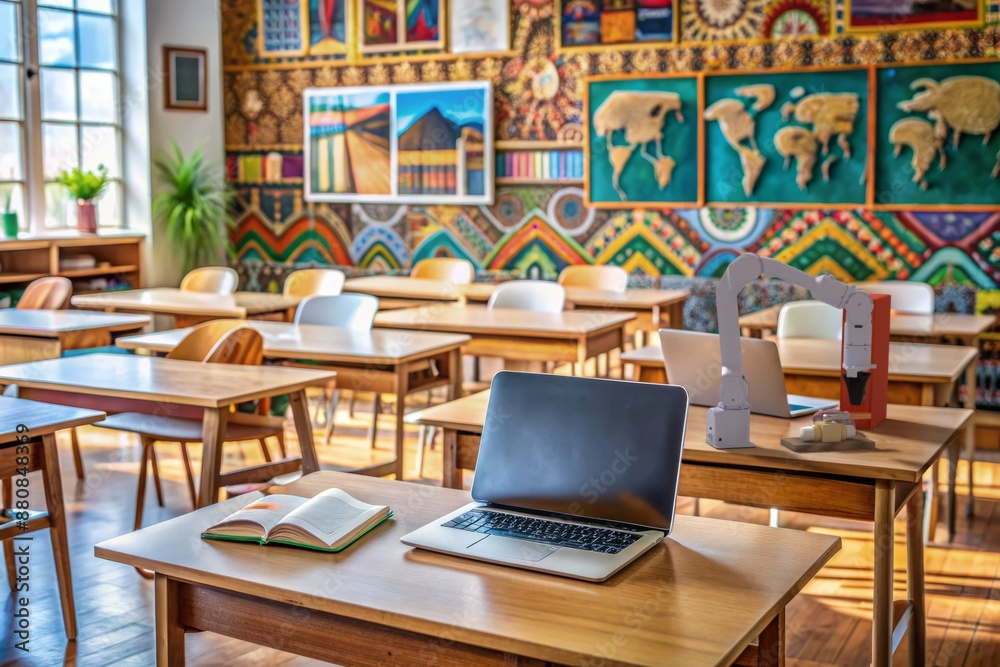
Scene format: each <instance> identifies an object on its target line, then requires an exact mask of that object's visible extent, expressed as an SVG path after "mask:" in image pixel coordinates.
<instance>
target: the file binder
mask: <svg viewBox="0 0 1000 667" xmlns="http://www.w3.org/2000/svg"><path fill="white" fill-rule="evenodd" d="M868 294H869V295H870V296H871V298H872V301H873V304H874V307H873V310H872V312H871V316H872V320H871V324H872V337H871V364H876V368H871V369H867V370H863V372H870V373H871V376H870V378H869V379H868V382H867V384H866V387H865V391H864V395H863V400H862V403H861V405H860V406H856V405H851V404H850V401H849V395H848V389H847V386H846V383H845V381H844V379H843V377H842V374H843V373H846V372H847V370H846V369H845V368H843V367H842V366H843V363H844V330H845V323H846V312H847V311H846V309H844V308H842V319H841V321H842V323H841V326H842V327H841V352H840V353H841V355H840V357H841V358H840V378H839V380H840V381H839V409H838V410H840V411H843V412H845V411H848V412H849V413H856V412H869V413H871V419H854V421H855V425H856V429H855V430H865V431H866V430H867V431H871V430H873V429H874V428H875V427H876V426H878V425H879V424H880V423H882V422H883V421H884V420H885V419H886V418H887V413H888V385H889V359H890V332H891V331H890V330H891V313H892V312H891V307H892V306H891V305H892V294H888V293H887V294H886V293H868Z"/></svg>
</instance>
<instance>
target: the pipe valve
mask: <svg viewBox="0 0 1000 667" xmlns="http://www.w3.org/2000/svg"><path fill="white" fill-rule="evenodd" d="M856 430H857V429H855V427H854V426H853V425H845V424H843V423H842V424H839V423H837V422H834V421H832V422H824V421H816V422H813V424H810V425H809V426H801V427H800V429H799V437H800V439H801V440H802V441H813V442H818V441H821V442H840V441H841V440H846V439H854V438H855V435H857V434H856Z"/></svg>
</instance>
